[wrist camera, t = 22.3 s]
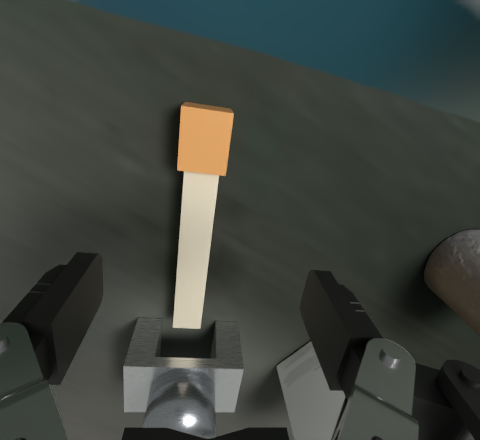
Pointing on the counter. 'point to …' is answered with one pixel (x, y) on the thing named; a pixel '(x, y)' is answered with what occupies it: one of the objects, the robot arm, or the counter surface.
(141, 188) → the counter surface
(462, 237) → the pillar candle
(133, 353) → the grey box with ball
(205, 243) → the plug rod
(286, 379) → the skincare box
